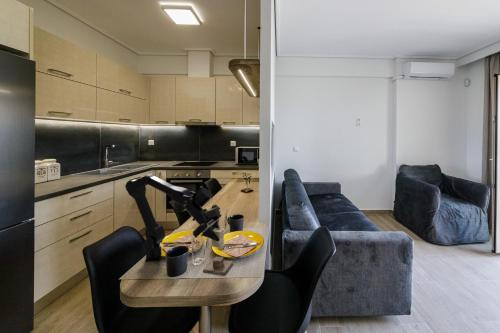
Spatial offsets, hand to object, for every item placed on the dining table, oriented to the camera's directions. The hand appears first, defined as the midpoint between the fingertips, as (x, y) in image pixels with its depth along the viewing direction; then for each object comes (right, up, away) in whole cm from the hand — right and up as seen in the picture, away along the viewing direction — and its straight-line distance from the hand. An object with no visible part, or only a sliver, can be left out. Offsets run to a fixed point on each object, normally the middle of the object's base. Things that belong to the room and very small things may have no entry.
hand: (220, 238), depth 118 cm
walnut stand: (-1, -13, +2) cm, 14 cm away
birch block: (-1, -3, +1) cm, 3 cm away
